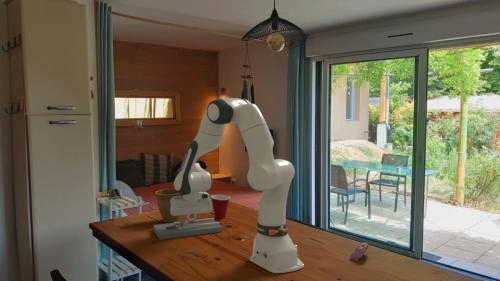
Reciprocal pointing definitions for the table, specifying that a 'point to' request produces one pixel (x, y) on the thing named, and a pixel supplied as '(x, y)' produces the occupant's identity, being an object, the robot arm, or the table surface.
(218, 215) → the plastic cup
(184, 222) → the ball
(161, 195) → the plant pot
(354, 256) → the pink plastic figure
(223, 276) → the table surface
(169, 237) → the hole board
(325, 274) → the table surface
